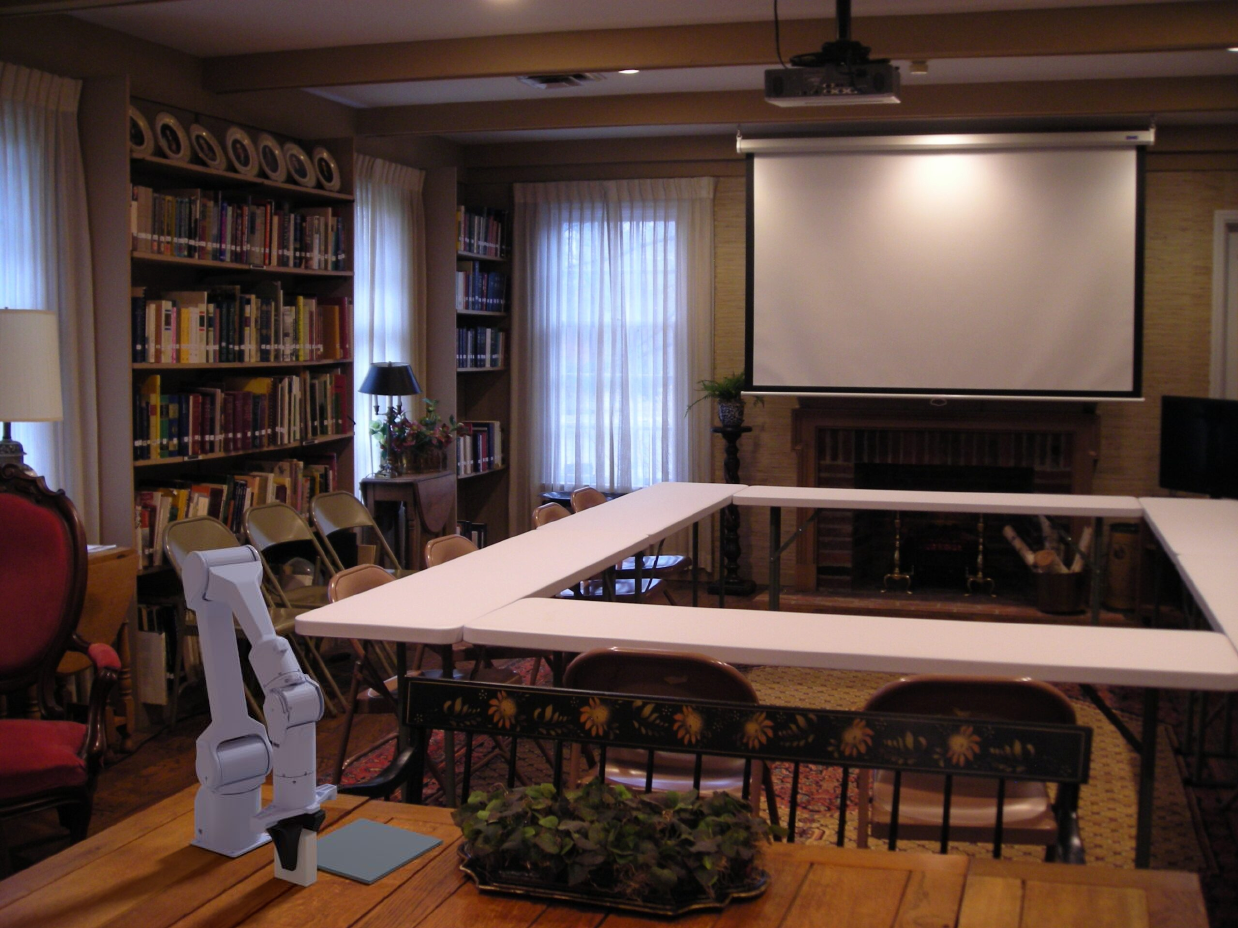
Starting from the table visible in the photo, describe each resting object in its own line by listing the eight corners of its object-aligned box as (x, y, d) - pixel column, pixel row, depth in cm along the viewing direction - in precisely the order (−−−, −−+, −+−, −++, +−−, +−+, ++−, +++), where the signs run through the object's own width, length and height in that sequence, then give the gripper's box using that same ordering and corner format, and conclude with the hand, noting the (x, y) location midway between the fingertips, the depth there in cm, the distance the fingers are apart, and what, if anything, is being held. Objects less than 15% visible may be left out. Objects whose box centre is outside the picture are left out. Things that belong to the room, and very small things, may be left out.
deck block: (274, 876, 162) (274, 827, 161) (285, 870, 163) (284, 822, 163) (306, 886, 159) (305, 837, 158) (316, 880, 161) (316, 831, 160)
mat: (285, 858, 168) (285, 854, 167) (361, 820, 181) (361, 817, 181) (370, 884, 160) (370, 880, 160) (442, 842, 174) (442, 839, 174)
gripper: (276, 792, 151) (277, 892, 153) (352, 759, 164) (353, 852, 165) (237, 782, 155) (239, 880, 156) (315, 750, 167) (316, 841, 169)
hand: (295, 865), depth 161 cm, fingers closed on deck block, 2 cm apart
